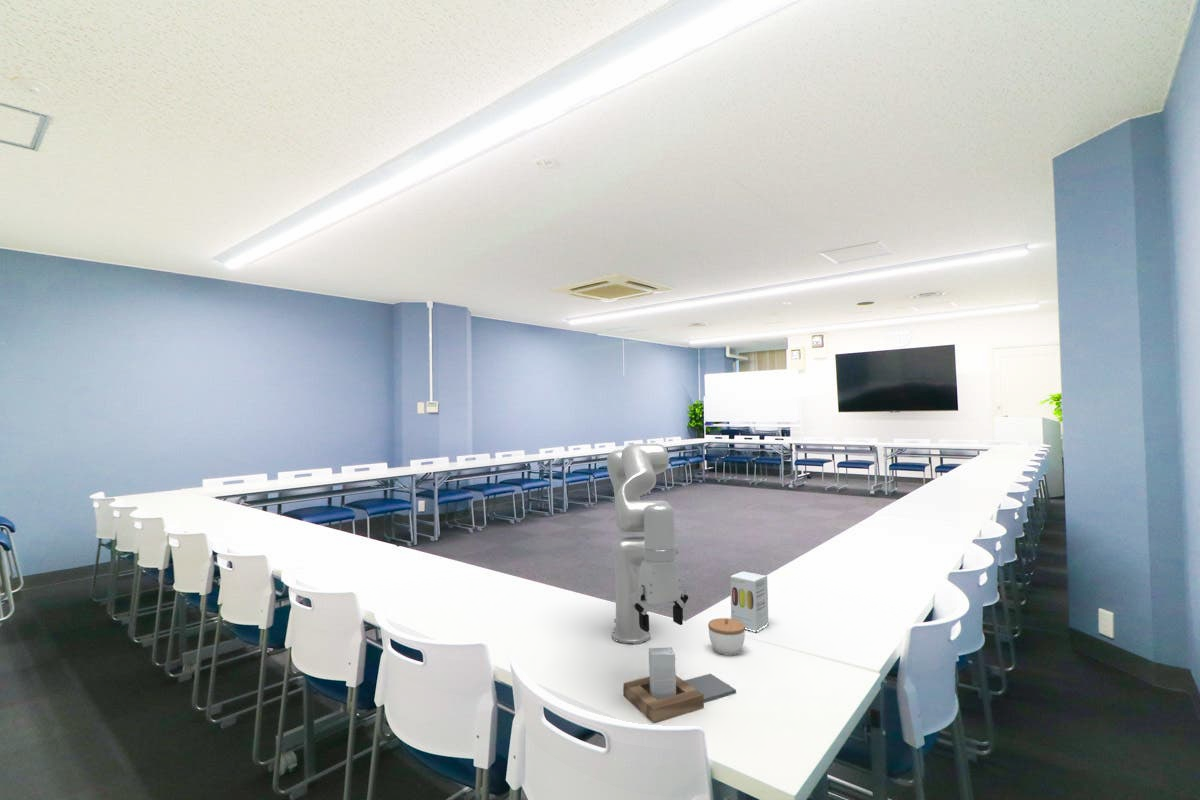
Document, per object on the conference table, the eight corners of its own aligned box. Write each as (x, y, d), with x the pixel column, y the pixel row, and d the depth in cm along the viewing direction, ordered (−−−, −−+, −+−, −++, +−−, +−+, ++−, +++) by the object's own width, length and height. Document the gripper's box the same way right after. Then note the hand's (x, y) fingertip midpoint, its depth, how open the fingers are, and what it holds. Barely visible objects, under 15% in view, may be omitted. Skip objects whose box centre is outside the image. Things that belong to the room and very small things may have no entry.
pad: (679, 685, 133) (679, 681, 133) (710, 676, 137) (710, 673, 137) (703, 702, 124) (703, 699, 124) (736, 693, 128) (735, 689, 128)
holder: (623, 695, 128) (623, 683, 128) (670, 683, 134) (670, 671, 134) (653, 723, 115) (653, 709, 115) (703, 707, 121) (703, 694, 122)
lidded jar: (740, 661, 146) (739, 627, 147) (704, 654, 152) (703, 621, 152) (749, 647, 156) (748, 616, 156) (714, 641, 161) (714, 610, 162)
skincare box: (673, 696, 127) (672, 646, 128) (676, 705, 122) (675, 654, 123) (649, 697, 126) (648, 647, 127) (651, 706, 122) (650, 654, 123)
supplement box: (730, 626, 173) (728, 575, 174) (743, 619, 180) (741, 570, 181) (757, 633, 167) (755, 580, 168) (769, 626, 173) (767, 575, 175)
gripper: (679, 549, 134) (681, 616, 133) (621, 556, 126) (623, 628, 125) (697, 554, 127) (699, 625, 126) (637, 562, 120) (638, 638, 118)
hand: (661, 626), depth 125 cm, fingers open, 9 cm apart
